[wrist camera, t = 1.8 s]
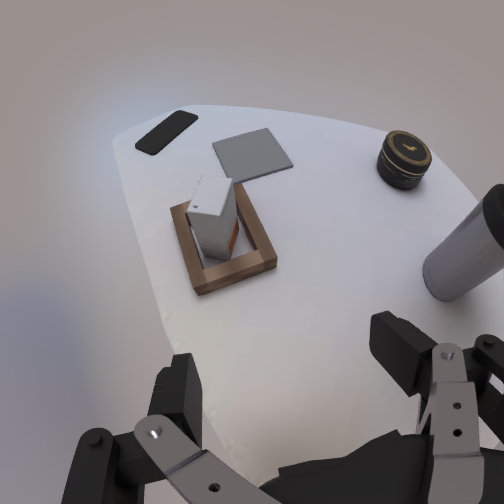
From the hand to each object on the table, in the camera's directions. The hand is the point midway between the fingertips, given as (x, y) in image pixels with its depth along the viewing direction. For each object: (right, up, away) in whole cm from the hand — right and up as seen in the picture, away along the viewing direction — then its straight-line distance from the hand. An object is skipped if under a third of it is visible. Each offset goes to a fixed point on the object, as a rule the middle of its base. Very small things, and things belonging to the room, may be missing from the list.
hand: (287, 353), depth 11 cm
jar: (+28, +20, +38) cm, 51 cm away
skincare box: (-6, +6, +32) cm, 33 cm away
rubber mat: (-2, +23, +40) cm, 46 cm away
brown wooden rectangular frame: (-6, +6, +32) cm, 33 cm away
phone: (-21, +31, +46) cm, 59 cm away
